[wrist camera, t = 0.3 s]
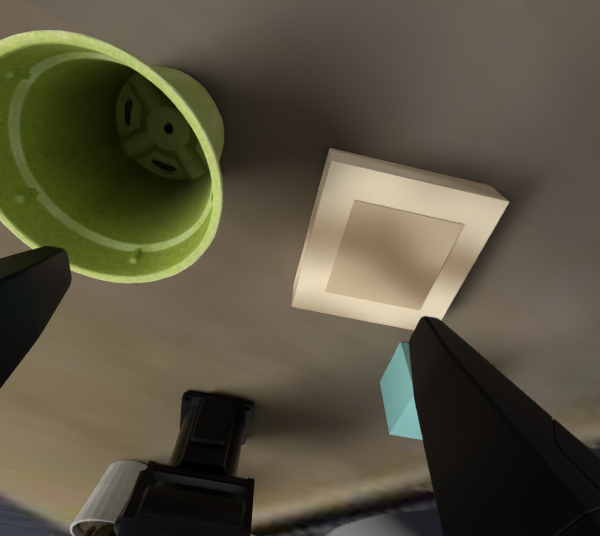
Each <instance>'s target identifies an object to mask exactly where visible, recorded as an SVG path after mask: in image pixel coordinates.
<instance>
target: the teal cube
mask: <svg viewBox="0 0 600 536" xmlns="http://www.w3.org/2000/svg"><path fill="white" fill-rule="evenodd" d="M380 386H381V392H382V397H383V402H384V408H385V413H386V418H387V424H388V429H389V434H390V435H396V436H402V437H408V438H414V439H420V440H423V439H422V434H421V430H420V425H419V420H418V415H417V411H416V406H415V401H414V394H413V384H412V374H411V364H410V353H409V343H404V342H400V344H399V346H398V348H397V350H396V352H395V354H394V356H393V358H392V359H391V361H390V363H389V365H388V367H387V369H386V371H385V373H384V375H383V377H382V379H381V381H380Z"/></svg>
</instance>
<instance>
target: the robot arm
mask: <svg viewBox="0 0 600 536" xmlns="http://www.w3.org/2000/svg"><path fill="white" fill-rule="evenodd" d="M71 279H72V276H71V269H70V263H69V257H68V253H67V251H66V250H65V249H63V248H58V247H53V246H43V247H39V248H36V249H32V250H29V251H25V252H22V253H18V254H14V255H11V256H7V257H4V258H0V388H1V387H2V386H3V384H4V383H5V382H6V380H7V379H8V378H9V376H10V375H11V374H12V372H13V371H14V370H15V368H16V367H17V366H18V365H19V363H20V362H21V361H22V359H23V358H24V357H25V355H26V354H27V353H28V351H29V350H30V349H31V347H32V346H33V345H34V343H35V342H36V341H37V339H38V338H39V336H40V335H41V333H42V332H43V330H44V329H45V327H46V325H47V324H48V322H49V320H50V318H51V317H52V315H53V313H54V312H55V310H56V308H57V307H58V305H59V303H60V302H61V300H62V298H63V297H64V295H65V293H66V292H67V290H68V288H69V286H70V284H71ZM409 353H410V364H411V374H412V384H413V394H414V401H415V406H416V411H417V415H418V420H419V425H420V430H421V434H422V439H423V444H424V448H425V453H426V458H427V462H428V467H429V472H430V476H431V481H432V486H433V490H434V495H435V500H436V504H437V509H438V514H439V518H440V523H441V528H442V532H443V536H600V458H599V456H597V455H596V454H595V453H594V452H592V451H591V450H590V449H589V448H588V447H587V446H585V445H584V444H583V443H582V442H581V441H579V440H578V439H577V438H576V437H575V436H574V435H572V434H571V433H570V432H569V431H568V430H567V429H565V428H564V427H563V426H562V425H561V424H560V423H559V422H557V421H556V420H554V419H553V420H552V417H551V416H550V415H549V414H548V413H547V412H546V411H545V410H543V409H542V408H541V407H540V406H539V405H538V404H537V403H535V402H534V401H533V400H532V399H531V398H530V397H529V396H527V395H526V394H525V393H524V392H523V391H522V390H520V389H519V388H518V387H517V386H516V385H515V384H514V383H512V382H511V381H510V380H509V379H508V378H507V377H505V376H504V375H503V374H502V373H501V372H500V371H499V370H497V369H496V368H495V367H494V366H493V365H492V364H491V363H489V362H488V361H487V360H486V359H485V358H484V357H482V356H481V355H480V354H479V353H478V352H477V351H476V350H474V349H473V348H472V347H471V346H470V345H469V344H468V343H466V342H465V341H464V340H463V339H462V338H461V337H459V336H458V335H457V334H456V333H455V332H454V331H453V330H451V329H450V328H449V327H448V326H447V325H446V324H445V323H443V322H442V321H441V320H440V319H438V318H435V317H429V316H423V317H421V318H420V320H419V322H418V324H417V326H416V328H415V330H414V332H413V334H412V336H411V338H410V341H409ZM253 408H254V404H253V403H252V402H249V401H243V400H236V399H230V398H224V397H218V396H212V395H206V394H200V393H194V392H185V393H184V394H183V397H182V406H181V421H180V433H179V436H178V439H177V442H176V445H175V448H174V451H173V454H172V457H171V460H170V463H169V465H165V464H159V463H157V462H155V461H149V464H148V466H147V468H146V469H145V470H142V471H140V472H139V475H138V478H137V480H136V483H135V485H134V488H133V490H132V492H131V494H130V496H129V498H128V500H127V501H126V503H125V505H124V507H123V508H122V510H121V512H120V514H119V515H118V517H117V519H116V521H115V524H114V531H115V533H116V535H117V536H250V533H251V523H252V508H253V494H254V479H252V478H248V479H245V478H239V477H236V475H237V469H238V463H239V457H240V452H241V446H242V445H243V444H245V441H246V437H247V433H248V429H249V425H250V421H251V417H252V413H253Z"/></svg>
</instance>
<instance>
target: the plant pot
mask: <svg viewBox="0 0 600 536" xmlns="http://www.w3.org/2000/svg"><path fill="white" fill-rule="evenodd" d="M127 100H131V101H132V103H133V105H132V110H131V117H130V118H131V119H130V122H131V124H130V125H128V124H127V123H126V122H125V110H124V107H125V104H126V102H127ZM166 124H170V125H171V126H172V127H173V132H172V133H171V134H168V133H166V132H165V130H164V128H165V125H166ZM223 145H224V124H223V120H222V117H221V115H220V113H219V111H218V109H217V106H216V104H215V103H214V101H213V99H212V98H211V96H210V95H209V93H208V92H207V90H206V89H205V88H204V87H203V86H202V85H201V84H200V83H199V82H198V81H196V80H195V79H194V78H192V77H190V76H189V75H187V74H185V73H183V72H181V71H179V70H176V69H173V68H169V67H162V66H156V65H149V64H147V63H146V62H144V61H143V60H141V59H140V58H138V57H137V56H135V55H133V54H132V53H130V52H128V51H126V50H125V49H122V48H120V47H118V46H116V45H114V44H112V43H109V42H107V41H104V40H101V39H99V38H95V37H92V36H88V35H84V34H79V33H74V32H67V31H56V30H41V31H32V32H25V33H20V34H16V35H13V36H10V37H7V38H4V39H2V40H1V41H0V221H1V222H2V223H3V224H4V225H5V226H6V227H7V228H8V229H9V230H10V231H12V232H13V233H14V234H15V235H16V236H17V237H18V238H20V239H21V240H22V241H23V242H24V243H25V244H27V245H28V246H29V247H31V248H32V249H36V248H39V247H43V246H53V247H58V248H63V249H65V250H66V251H67V253H68V257H69V263H70V269H71V271H74V272H76V273H80V274H83V275H86V276H89V277H92V278H96V279H100V280H104V281H110V282H118V283H144V282H151V281H156V280H160V279H163V278H166V277H170V276H173V275H176V274H178V273H179V272H181V271H183V270H185V269H186V268H188V267H189V266H191V265H192V264H193V263H195V262H196V261H197V260H198V259H199V258H200V257H201V256H202V255H203V254H204V253H205V251H206V250H207V249H208V247H209V246H210V244H211V242H212V240H213V239H214V237H215V234H216V232H217V230H218V227H219V224H220V220H221V216H222V210H223V200H224V192H223V179H222V174H221V169H220V164H219V161H220V157H221V154H222V149H223ZM153 160H157V161H160V162H162V163H164V164H166V165H170V166H174V167H175V168H176V170H175V171H166V170H164V169H161V168H159V167H157V166H156V165H155V164H154V163H153Z"/></svg>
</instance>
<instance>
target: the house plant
mask: <svg viewBox="0 0 600 536" xmlns="http://www.w3.org/2000/svg"><path fill="white" fill-rule="evenodd" d="M146 468H147V465H145V464H143V463H140V462H137V461H131V460H120V461H116V462H113V463H112V464H111V465H110V466H109V468H108V470H107V471H106V473H105V474H104V476H103V477H102V479H101V480H100V482H99V483H98V485H97V486H96V488H95V489H94V491H93V492H92V494H91V496H90V497H89V499H88V500H87V502H86V503H85V505H84V506H83V508H82V509H81V511H80V512H79V514H78V515H77V517H76V518H75V520H74V522H73V523H72V525H71V527H70V532H71V534H72V535H73V536H117V535H116V533H115V531H114V524H115V521H116V519H117V517H118V515H119V514H120V512H121V510H122V508H123V507H124V505H125V503H126V501H127V500H128V498H129V496H130V494H131V492H132V490H133V488H134V485H135V483H136V480H137V478H138V475H139V472H140V471H142V470H145V469H146Z"/></svg>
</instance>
